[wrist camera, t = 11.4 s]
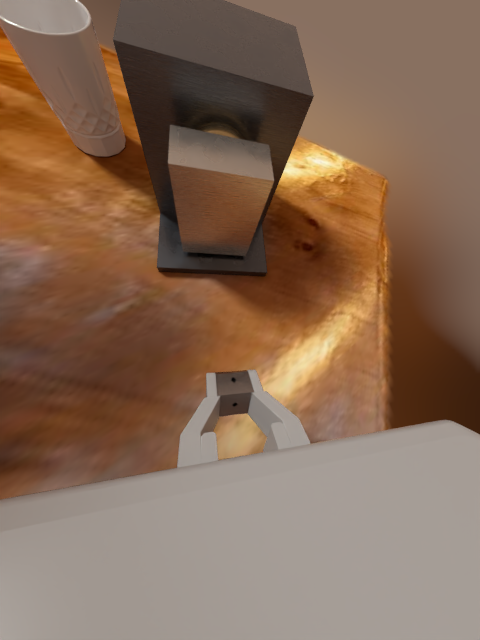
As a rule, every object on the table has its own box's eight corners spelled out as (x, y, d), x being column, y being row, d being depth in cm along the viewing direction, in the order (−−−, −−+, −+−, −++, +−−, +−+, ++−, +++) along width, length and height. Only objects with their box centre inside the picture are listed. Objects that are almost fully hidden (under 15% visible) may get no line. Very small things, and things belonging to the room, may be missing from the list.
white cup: (69, 160, 24) (-18, 23, 14) (66, 118, 25) (-15, -30, 16) (134, 161, 26) (94, 41, 16) (126, 122, 27) (87, -7, 18)
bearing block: (264, 276, 25) (333, 173, 12) (159, 271, 22) (94, 128, 9) (253, 174, 30) (294, 20, 17) (165, 159, 27) (129, -41, 14)
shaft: (245, 255, 24) (274, 180, 14) (182, 251, 22) (167, 163, 12) (236, 139, 29) (252, 28, 20) (185, 128, 28) (176, 2, 18)
